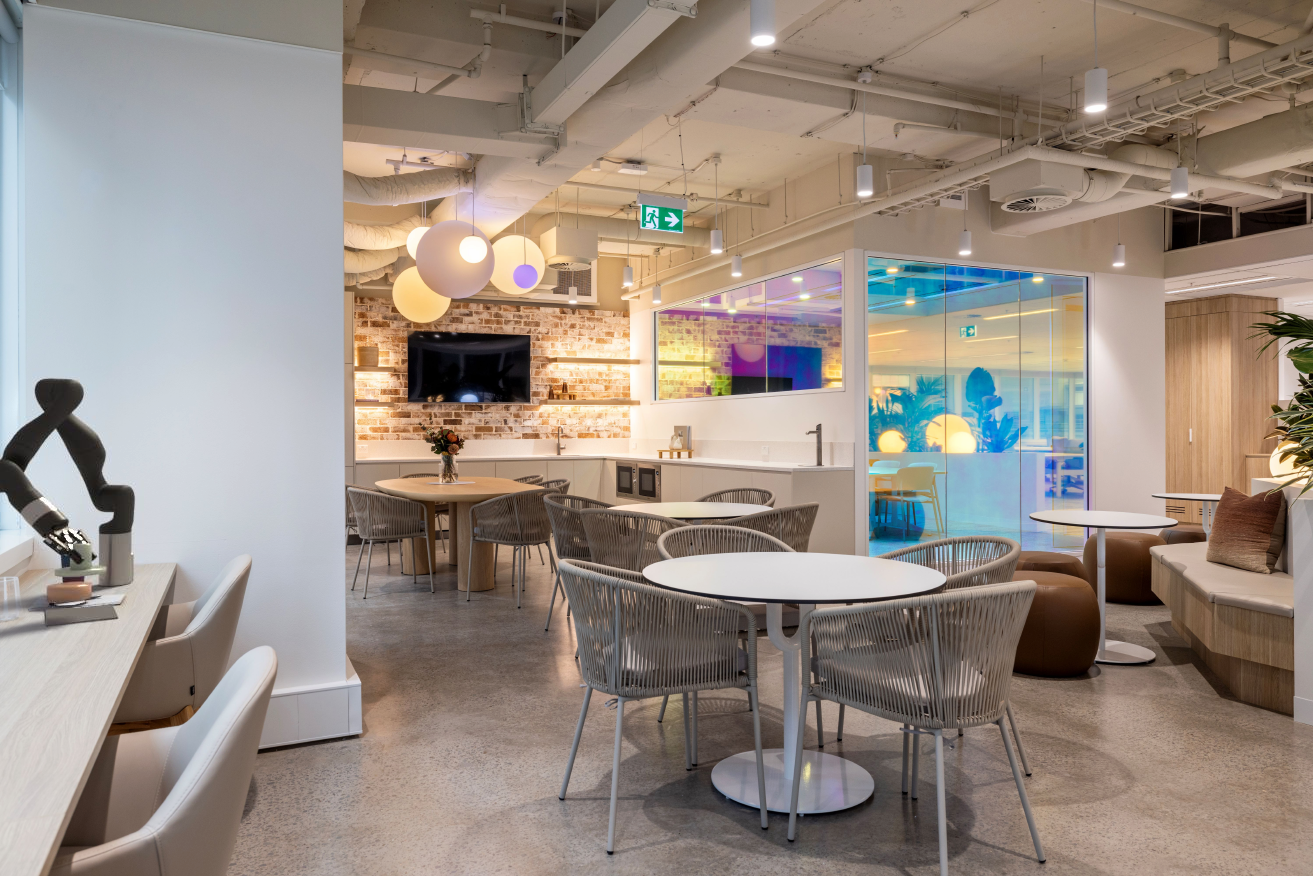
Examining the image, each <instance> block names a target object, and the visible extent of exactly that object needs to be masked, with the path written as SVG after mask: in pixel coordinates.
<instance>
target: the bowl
mask: <svg viewBox="0 0 1313 876" xmlns="http://www.w3.org/2000/svg"><path fill="white" fill-rule="evenodd" d="M92 585H93V583H92V582H90V581H84V582H65V583H63V582H59V583H54V584H53V583H52V584H50V585H47V586H46V601H47V602H49V603H53V602H55V603H67V602H73V601H81V600H85V599H86V600H87V599H91V598H92V597H93V596H92Z"/></svg>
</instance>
